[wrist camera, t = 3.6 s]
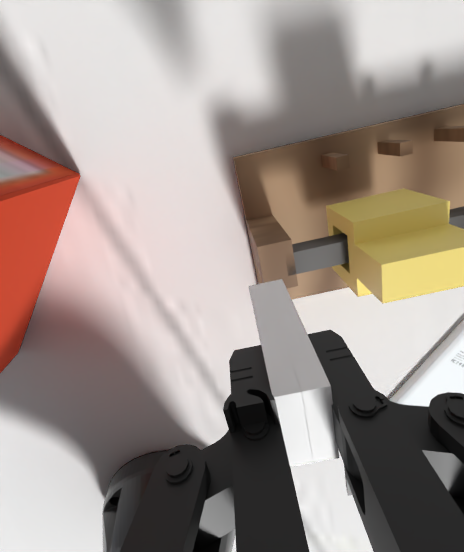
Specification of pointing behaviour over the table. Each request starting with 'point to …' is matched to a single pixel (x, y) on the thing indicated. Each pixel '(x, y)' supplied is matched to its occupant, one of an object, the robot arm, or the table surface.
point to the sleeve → (398, 245)
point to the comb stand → (342, 190)
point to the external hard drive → (436, 373)
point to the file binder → (27, 234)
